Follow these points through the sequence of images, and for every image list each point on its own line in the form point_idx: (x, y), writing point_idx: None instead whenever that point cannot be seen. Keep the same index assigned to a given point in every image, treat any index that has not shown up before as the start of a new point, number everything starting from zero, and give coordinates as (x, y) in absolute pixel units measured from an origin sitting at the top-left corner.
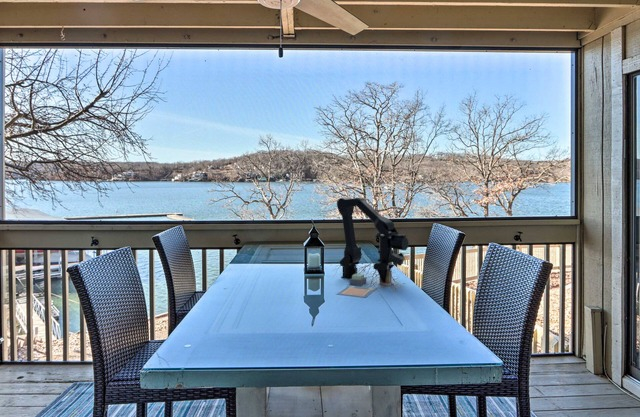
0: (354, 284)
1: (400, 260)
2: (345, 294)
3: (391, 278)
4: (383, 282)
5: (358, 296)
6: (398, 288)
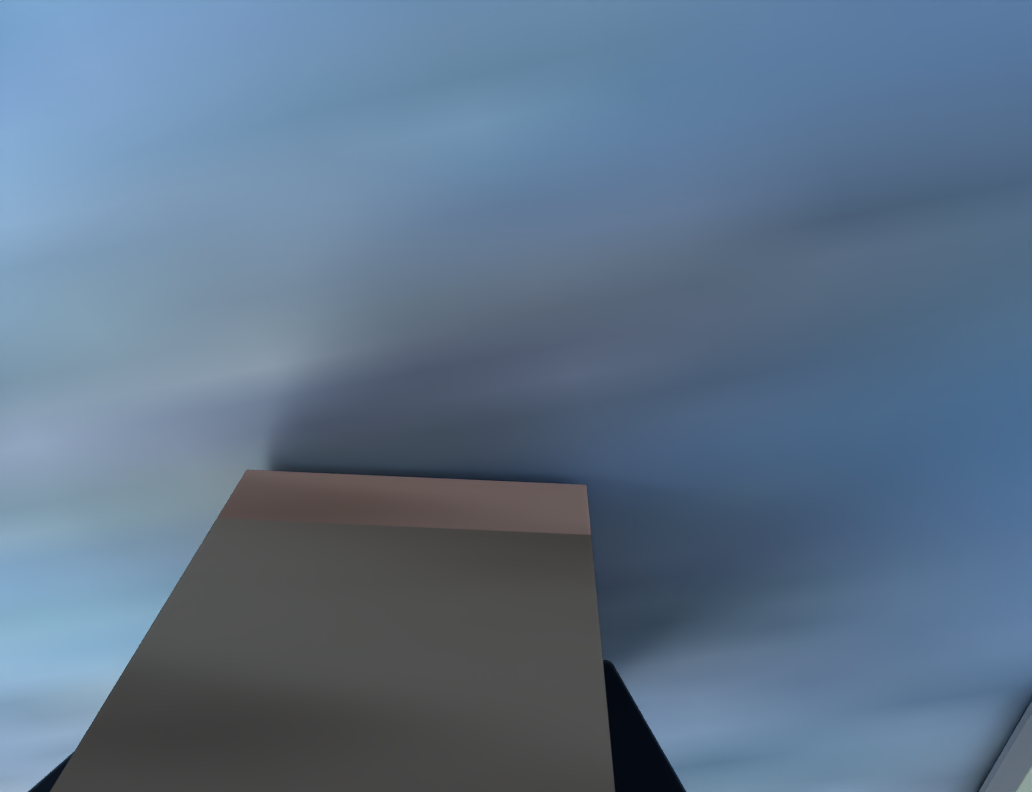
0: None
1: None
2: None
3: (179, 598)
4: None
5: None
6: (853, 82)
